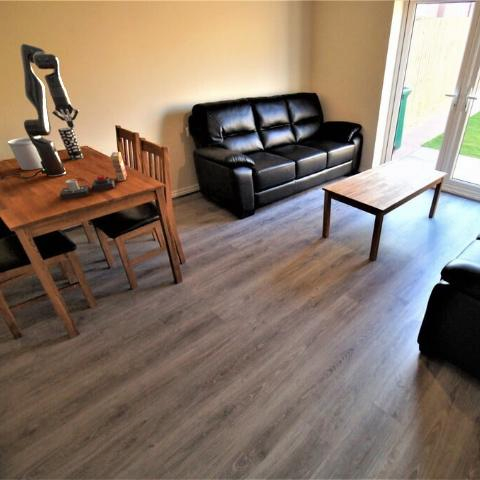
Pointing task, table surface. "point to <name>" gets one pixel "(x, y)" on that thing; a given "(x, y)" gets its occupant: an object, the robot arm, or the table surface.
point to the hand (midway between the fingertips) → (71, 127)
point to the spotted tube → (70, 143)
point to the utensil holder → (25, 153)
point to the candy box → (118, 166)
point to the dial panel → (75, 192)
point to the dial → (72, 185)
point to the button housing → (103, 184)
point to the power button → (101, 177)
